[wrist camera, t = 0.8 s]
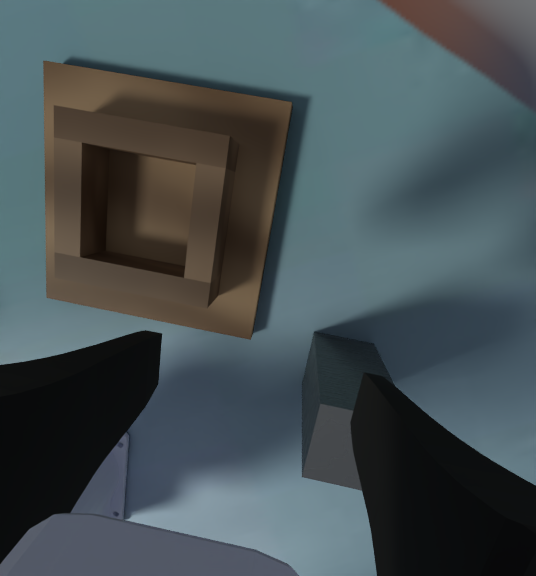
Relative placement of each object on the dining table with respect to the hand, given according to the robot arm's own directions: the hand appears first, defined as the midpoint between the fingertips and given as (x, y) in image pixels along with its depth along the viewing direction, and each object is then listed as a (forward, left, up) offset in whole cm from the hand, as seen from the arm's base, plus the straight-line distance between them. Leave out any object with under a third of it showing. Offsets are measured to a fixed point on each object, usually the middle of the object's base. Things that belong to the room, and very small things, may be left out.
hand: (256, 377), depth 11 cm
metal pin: (-4, -5, -10) cm, 12 cm away
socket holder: (+4, +8, -10) cm, 14 cm away
